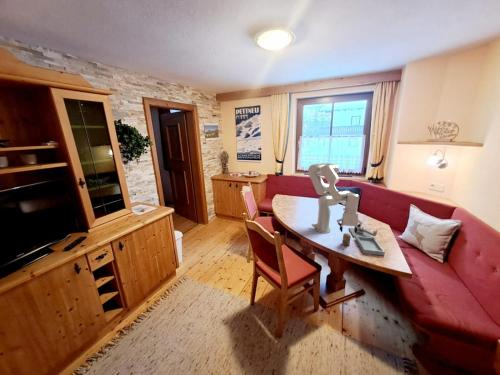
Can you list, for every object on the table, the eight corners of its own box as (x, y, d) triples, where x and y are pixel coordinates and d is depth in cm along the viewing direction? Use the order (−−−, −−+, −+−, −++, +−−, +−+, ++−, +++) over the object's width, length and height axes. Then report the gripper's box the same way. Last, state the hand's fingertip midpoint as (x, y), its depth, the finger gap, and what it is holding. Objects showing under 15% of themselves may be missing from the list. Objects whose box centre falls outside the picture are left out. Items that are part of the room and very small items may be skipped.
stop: (343, 245, 144) (344, 236, 142) (341, 242, 149) (342, 233, 147) (350, 246, 143) (351, 237, 141) (348, 242, 148) (349, 233, 146)
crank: (356, 229, 161) (357, 224, 160) (360, 228, 163) (361, 222, 162) (373, 237, 149) (375, 231, 147) (377, 235, 151) (378, 230, 150)
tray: (363, 253, 135) (364, 249, 134) (355, 239, 153) (356, 235, 152) (384, 255, 132) (385, 251, 132) (373, 241, 150) (374, 237, 149)
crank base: (353, 236, 156) (354, 233, 155) (348, 228, 169) (349, 225, 169) (372, 238, 153) (373, 235, 153) (366, 230, 167) (366, 227, 166)
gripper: (339, 211, 136) (336, 233, 141) (366, 213, 133) (362, 235, 137) (337, 207, 143) (334, 228, 148) (362, 209, 140) (359, 230, 144)
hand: (348, 231), depth 143 cm, fingers open, 9 cm apart
